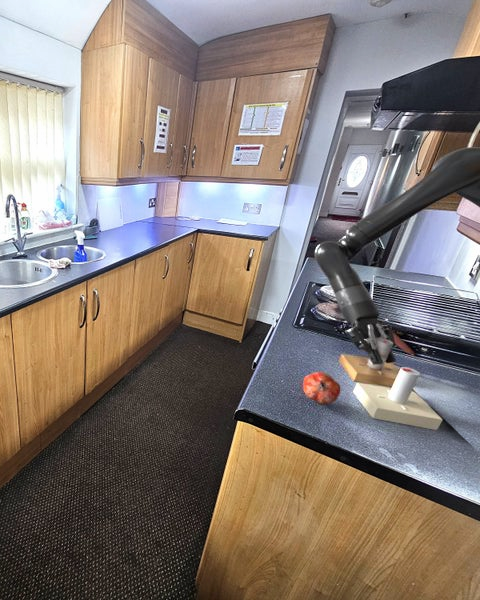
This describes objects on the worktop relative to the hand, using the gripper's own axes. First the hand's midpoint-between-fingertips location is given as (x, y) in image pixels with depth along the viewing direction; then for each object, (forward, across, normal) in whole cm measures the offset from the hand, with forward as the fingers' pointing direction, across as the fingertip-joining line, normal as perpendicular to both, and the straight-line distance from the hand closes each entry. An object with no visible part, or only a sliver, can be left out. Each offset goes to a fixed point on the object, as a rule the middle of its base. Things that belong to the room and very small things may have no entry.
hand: (384, 363), depth 87 cm
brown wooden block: (+3, 0, +5) cm, 6 cm away
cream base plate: (+11, -9, -3) cm, 15 cm away
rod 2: (+9, -9, -6) cm, 14 cm away
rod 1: (0, 0, +3) cm, 3 cm away
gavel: (-6, +25, +14) cm, 29 cm away
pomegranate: (+6, -24, +2) cm, 24 cm away
